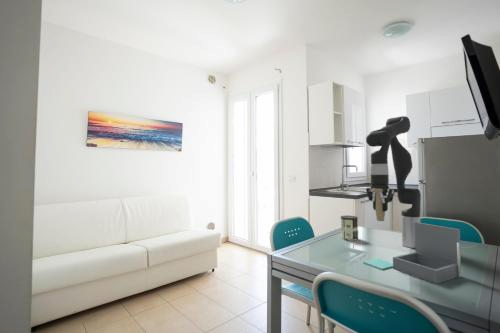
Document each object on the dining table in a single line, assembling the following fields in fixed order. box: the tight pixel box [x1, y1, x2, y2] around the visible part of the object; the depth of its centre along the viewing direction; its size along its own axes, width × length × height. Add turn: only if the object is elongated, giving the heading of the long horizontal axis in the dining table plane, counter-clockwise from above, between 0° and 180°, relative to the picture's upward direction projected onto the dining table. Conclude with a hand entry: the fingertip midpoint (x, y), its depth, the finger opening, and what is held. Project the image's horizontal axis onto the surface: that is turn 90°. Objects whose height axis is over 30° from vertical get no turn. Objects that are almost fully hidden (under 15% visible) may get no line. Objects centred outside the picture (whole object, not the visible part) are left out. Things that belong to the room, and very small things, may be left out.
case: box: [392, 222, 462, 284], centre depth 111 cm, size 17×19×19 cm
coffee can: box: [340, 215, 359, 241], centre depth 168 cm, size 10×10×14 cm
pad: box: [362, 258, 393, 271], centre depth 121 cm, size 10×10×1 cm
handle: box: [372, 188, 386, 222], centre depth 121 cm, size 5×6×15 cm
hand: (380, 210), depth 121 cm, fingers closed on handle, 4 cm apart
